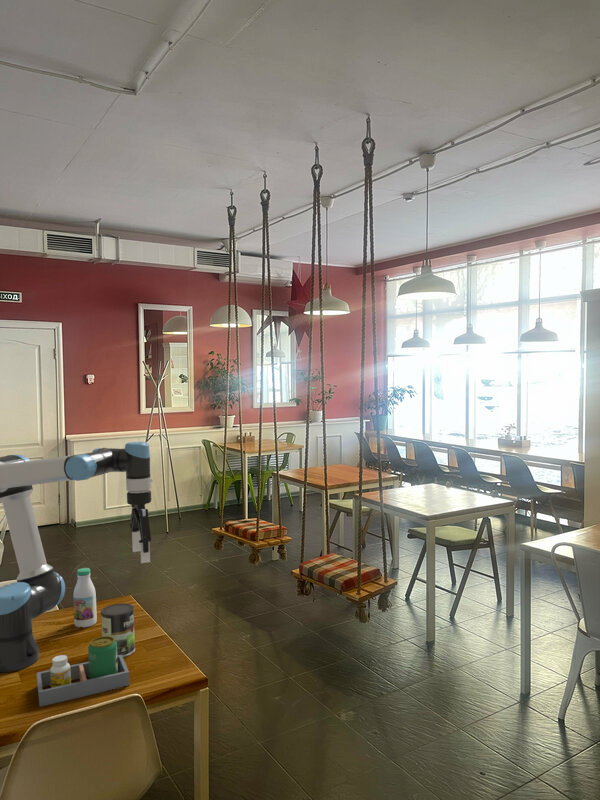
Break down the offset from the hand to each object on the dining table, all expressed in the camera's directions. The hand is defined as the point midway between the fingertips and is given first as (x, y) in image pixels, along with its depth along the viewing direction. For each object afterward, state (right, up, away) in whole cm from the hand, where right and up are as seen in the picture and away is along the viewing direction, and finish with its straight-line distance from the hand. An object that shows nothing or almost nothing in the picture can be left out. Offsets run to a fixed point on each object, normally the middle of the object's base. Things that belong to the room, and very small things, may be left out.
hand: (141, 556), depth 195 cm
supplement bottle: (-17, -33, -21) cm, 43 cm away
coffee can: (-8, -32, +4) cm, 33 cm away
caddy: (-12, -33, -18) cm, 39 cm away
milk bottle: (-27, -31, +27) cm, 49 cm away
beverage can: (-7, -33, -16) cm, 37 cm away
